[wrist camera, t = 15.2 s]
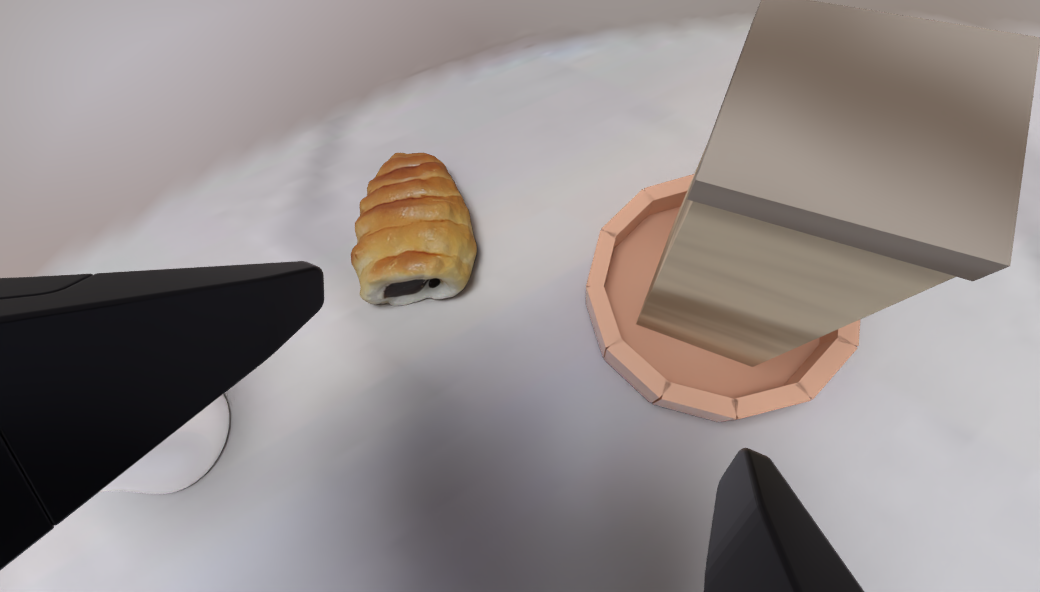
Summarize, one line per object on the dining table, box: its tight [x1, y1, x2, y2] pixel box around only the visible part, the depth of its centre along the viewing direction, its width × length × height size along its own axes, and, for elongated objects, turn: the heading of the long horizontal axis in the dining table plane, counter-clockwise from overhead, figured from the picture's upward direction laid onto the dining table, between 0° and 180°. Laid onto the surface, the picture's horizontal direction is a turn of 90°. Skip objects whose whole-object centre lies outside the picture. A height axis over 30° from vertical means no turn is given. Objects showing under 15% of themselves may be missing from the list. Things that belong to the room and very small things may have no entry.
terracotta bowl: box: [586, 174, 860, 422], centre depth 21 cm, size 12×12×2 cm
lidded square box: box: [636, 0, 1040, 367], centre depth 15 cm, size 6×6×12 cm
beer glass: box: [99, 394, 230, 494], centre depth 16 cm, size 7×7×15 cm
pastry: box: [351, 153, 477, 306], centre depth 24 cm, size 9×7×4 cm
